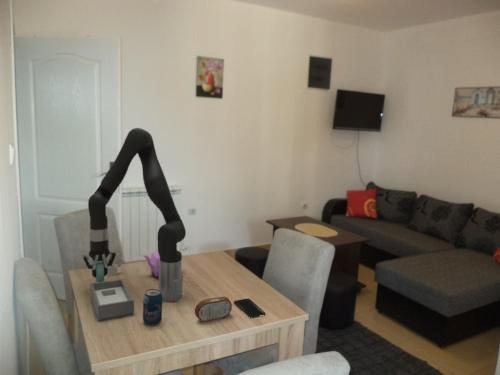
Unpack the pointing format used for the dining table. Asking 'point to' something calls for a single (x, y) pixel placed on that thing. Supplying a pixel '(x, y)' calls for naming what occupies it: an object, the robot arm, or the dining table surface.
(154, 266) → the teapot
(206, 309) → the bluetooth speaker
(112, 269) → the lighter
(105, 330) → the dining table surface
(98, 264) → the peg
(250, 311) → the phone
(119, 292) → the bin
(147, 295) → the soda can
